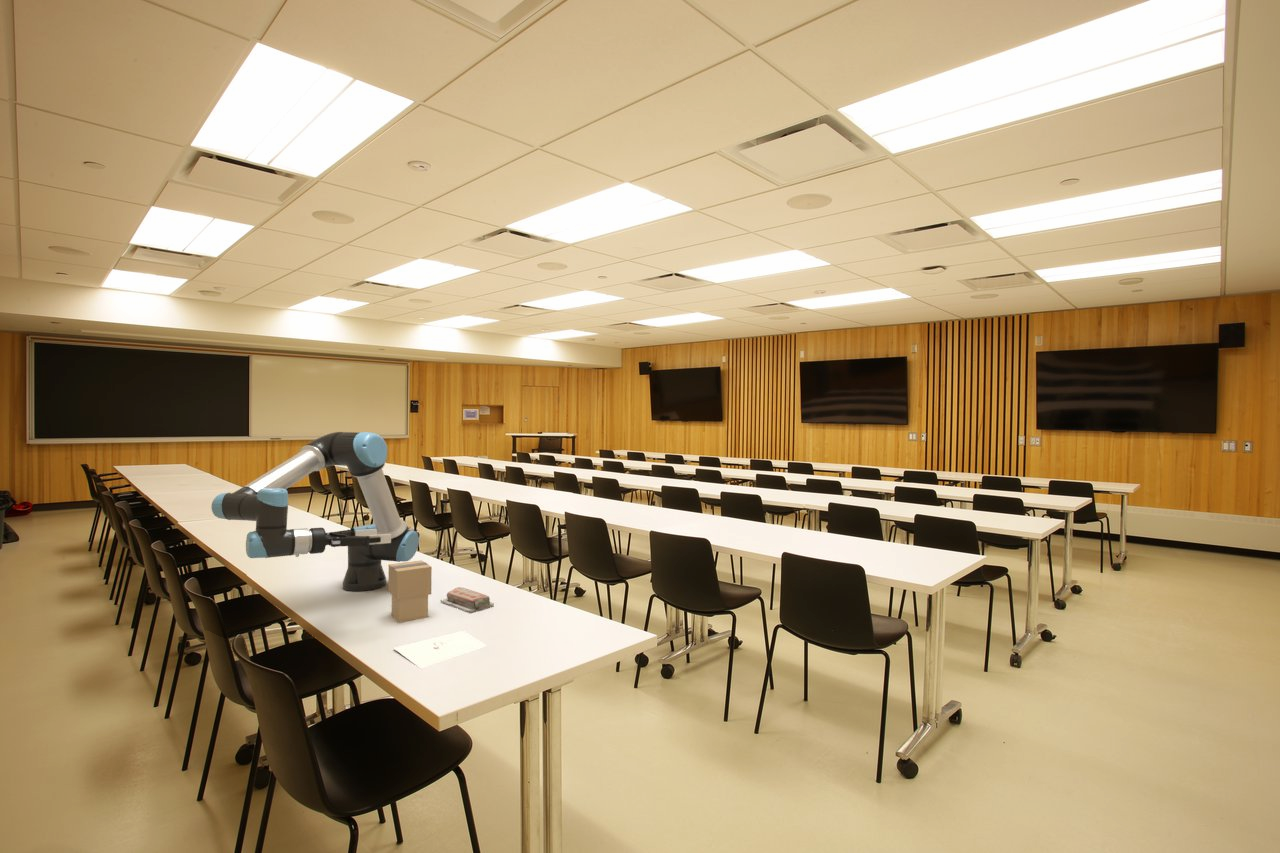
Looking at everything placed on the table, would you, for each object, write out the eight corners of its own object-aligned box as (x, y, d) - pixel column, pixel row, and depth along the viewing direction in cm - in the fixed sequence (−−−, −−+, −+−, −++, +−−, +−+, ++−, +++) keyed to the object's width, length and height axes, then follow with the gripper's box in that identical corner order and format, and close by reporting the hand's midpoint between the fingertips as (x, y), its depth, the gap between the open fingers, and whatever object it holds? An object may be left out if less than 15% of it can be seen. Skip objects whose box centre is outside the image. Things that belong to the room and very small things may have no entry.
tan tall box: (391, 614, 196) (391, 566, 196) (419, 609, 202) (419, 562, 201) (399, 622, 189) (399, 572, 189) (427, 617, 194) (428, 568, 194)
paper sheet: (471, 631, 183) (471, 628, 183) (514, 666, 160) (514, 662, 160) (391, 648, 168) (391, 644, 168) (425, 689, 145) (425, 685, 145)
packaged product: (495, 593, 206) (470, 600, 198) (495, 607, 206) (470, 615, 198) (464, 584, 217) (440, 590, 210) (464, 597, 218) (440, 603, 210)
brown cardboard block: (388, 591, 196) (388, 564, 196) (421, 586, 203) (421, 559, 202) (397, 600, 188) (397, 571, 188) (431, 594, 194) (431, 566, 194)
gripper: (298, 548, 185) (370, 542, 199) (318, 560, 167) (396, 553, 181) (299, 523, 186) (371, 519, 200) (320, 533, 167) (397, 528, 181)
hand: (383, 535), depth 190 cm, fingers open, 13 cm apart
